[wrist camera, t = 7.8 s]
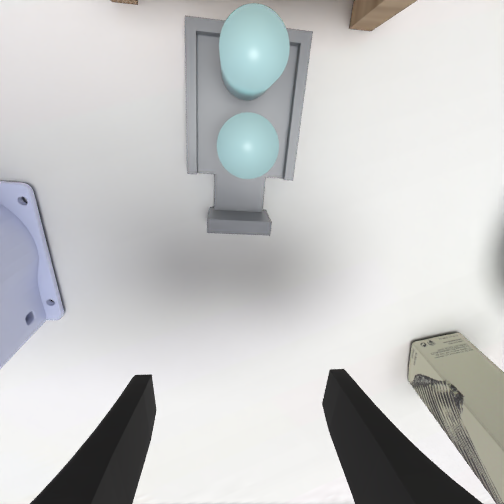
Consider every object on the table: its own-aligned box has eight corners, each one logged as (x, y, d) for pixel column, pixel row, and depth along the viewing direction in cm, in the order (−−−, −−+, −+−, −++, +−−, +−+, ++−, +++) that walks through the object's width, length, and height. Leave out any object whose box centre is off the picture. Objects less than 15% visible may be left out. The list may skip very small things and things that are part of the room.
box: (409, 339, 24) (586, 544, 12) (459, 329, 24) (684, 524, 12) (405, 382, 26) (552, 590, 14) (451, 373, 26) (635, 573, 14)
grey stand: (282, 222, 18) (301, 254, 14) (190, 218, 18) (177, 250, 13) (305, 40, 14) (343, -4, 10) (188, 26, 14) (168, -29, 9)
